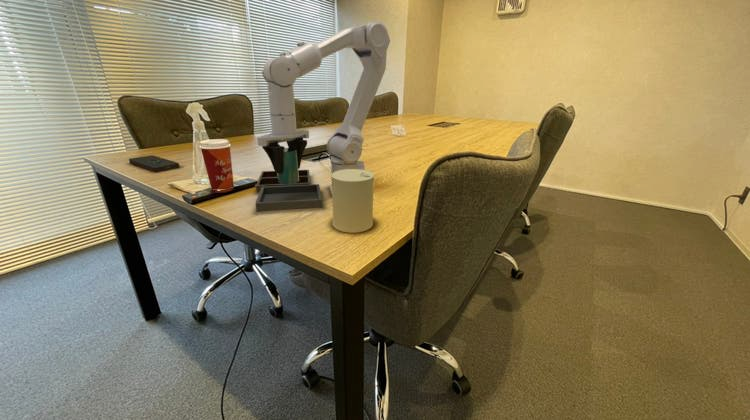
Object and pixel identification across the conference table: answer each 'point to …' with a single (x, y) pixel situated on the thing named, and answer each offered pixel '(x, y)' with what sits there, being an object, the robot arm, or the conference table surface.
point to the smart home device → (154, 163)
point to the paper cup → (218, 163)
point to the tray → (289, 197)
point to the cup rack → (272, 179)
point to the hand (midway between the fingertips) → (287, 170)
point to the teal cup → (289, 167)
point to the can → (352, 200)
